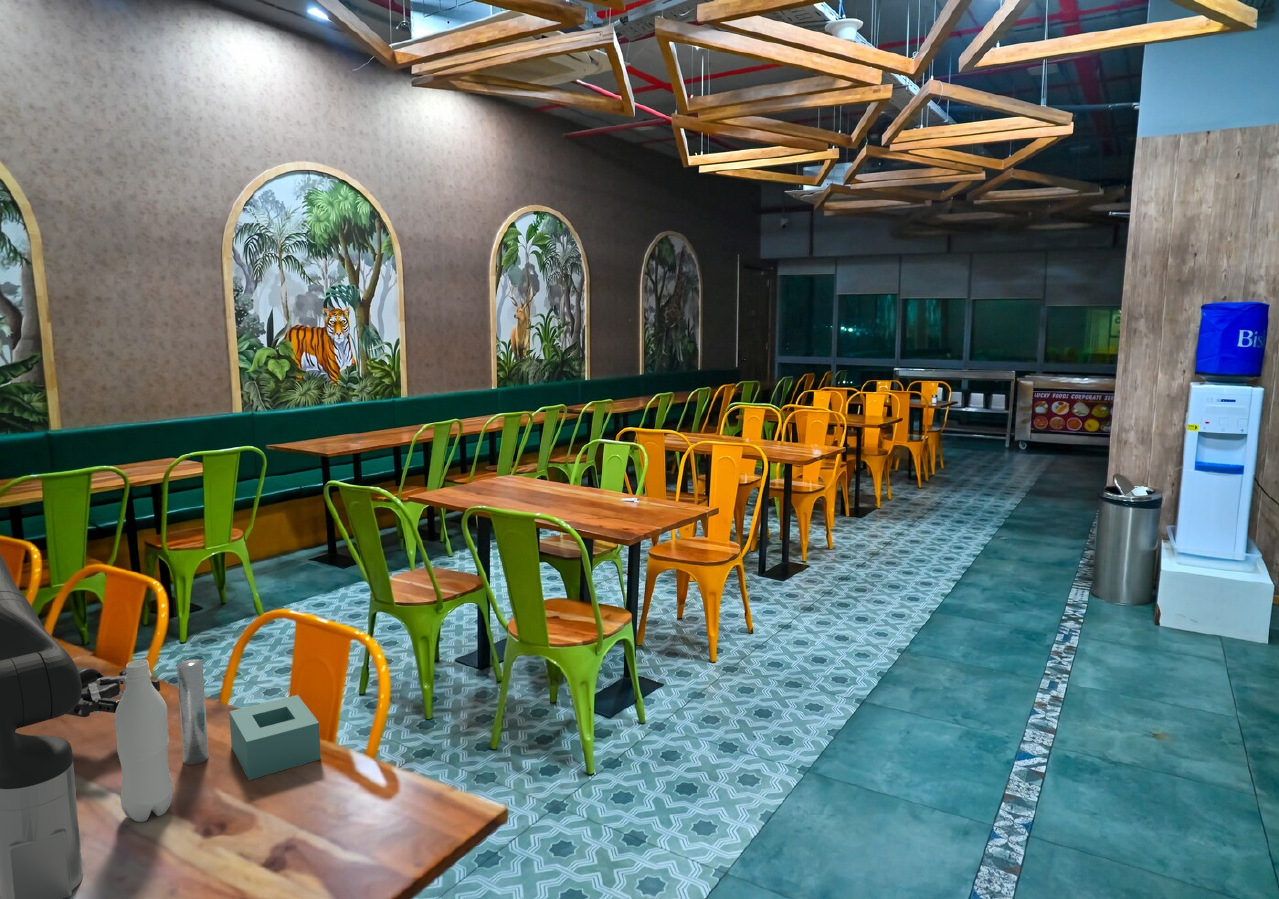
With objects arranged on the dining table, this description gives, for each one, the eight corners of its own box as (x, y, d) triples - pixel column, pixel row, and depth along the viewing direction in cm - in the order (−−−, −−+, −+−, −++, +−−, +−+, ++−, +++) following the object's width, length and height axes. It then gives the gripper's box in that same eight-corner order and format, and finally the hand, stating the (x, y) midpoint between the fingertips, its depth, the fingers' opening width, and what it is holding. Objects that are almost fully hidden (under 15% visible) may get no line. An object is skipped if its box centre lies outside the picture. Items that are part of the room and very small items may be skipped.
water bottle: (112, 817, 130) (99, 667, 126) (156, 795, 136) (146, 651, 133) (139, 830, 127) (127, 676, 123) (184, 807, 133) (173, 660, 129)
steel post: (210, 760, 148) (204, 664, 145) (185, 767, 145) (178, 670, 143) (206, 751, 151) (200, 657, 148) (181, 757, 148) (175, 662, 146)
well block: (320, 759, 148) (319, 722, 147) (248, 780, 141) (246, 741, 140) (299, 729, 159) (297, 694, 158) (231, 747, 152) (229, 711, 151)
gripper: (28, 683, 145) (104, 693, 141) (97, 653, 159) (169, 661, 155) (32, 723, 146) (108, 734, 142) (100, 689, 160) (171, 699, 156)
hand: (139, 696), depth 149 cm, fingers open, 8 cm apart
